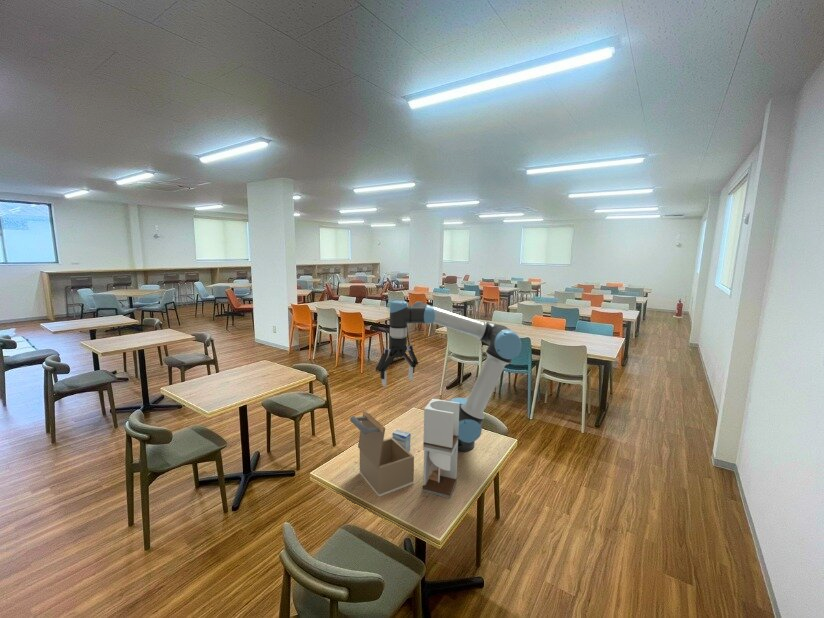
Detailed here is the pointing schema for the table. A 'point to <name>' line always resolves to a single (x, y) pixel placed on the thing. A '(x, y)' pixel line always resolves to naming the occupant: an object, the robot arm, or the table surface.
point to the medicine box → (402, 438)
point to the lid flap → (370, 437)
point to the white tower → (440, 447)
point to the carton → (389, 468)
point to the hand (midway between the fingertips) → (397, 383)
